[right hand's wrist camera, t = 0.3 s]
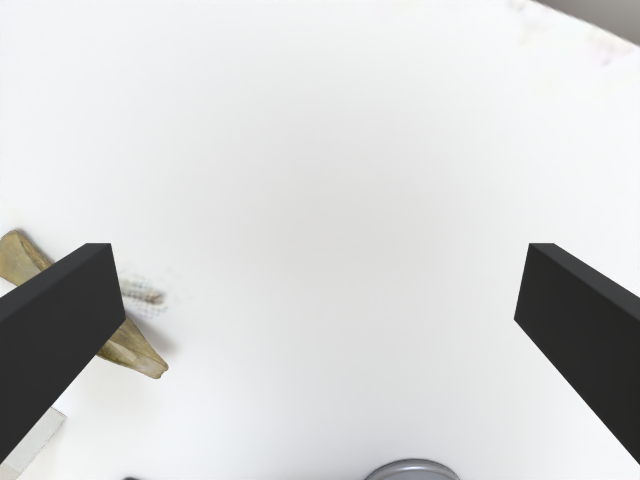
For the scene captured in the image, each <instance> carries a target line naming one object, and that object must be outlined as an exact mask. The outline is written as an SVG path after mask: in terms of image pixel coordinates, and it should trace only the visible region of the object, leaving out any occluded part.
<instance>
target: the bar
mask: <svg viewBox="0 0 640 480" xmlns="http://www.w3.org/2000/svg"><path fill="white" fill-rule="evenodd" d="M65 418H66V416H64V415H63V414H61V413H59V412H58V411H56V410H55V409H53V408H52V407H50V408H49V409H48V410H47V411H46V413H45V414H44V415H43V416H42V417H41V418H40V420H39V421H38V422H37V423H36V424H35V425H34V427H33V428H32V429H31V430H30V431H29V432H28V433H27V435H26V436H25V437H24V438H23V439H22V440H21V442H20V443H19V444H18V445H17V446H16V447H15V448H14V450H13V451H12V452H11V453H10V454H9V455H8V457H7V458H6V459H5V460H4V461H3V462H2V464H1V465H0V480H15V479H17V478H18V477H19V476H20V475H21V474H22V473H23V472H24V470H25V469H26V468H27V466H28V465H29V464H30V463H31V461H32V460H33V459H34V458H35V456H36V455H37V454H38V452H39V451H40V450H41V449H42V447H43V446H44V445H45V444H46V442H47V441H48V440H49V438H50V437H51V436H52V435H53V433H54V432H55V431H56V430H57V428H58V427H59V426H60V424H61V423H62V422H63V421H64V419H65Z"/></svg>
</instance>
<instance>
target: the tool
mask: <svg viewBox="0 0 640 480" xmlns="http://www.w3.org/2000/svg"><path fill="white" fill-rule="evenodd" d="M50 266H51V264H50V263H49V262H48V261H47V260H46V259H45V258H44V257H43V256H41V255H40V254H39V253H38V252H37V251H36V250H35V249H34V248H33V246H32V245H31V244H30V243H28V242H27V240H26V239H25V238H24V237H23V236H21V235H20V234H19V233H18V232H17V231H10V232H9V233H7V234H6V235H4V236H3V237H2V239H1V240H0V277H2V278H4V279H6V280H8V281H9V282H11V283H13V284H14V285H16V286H20V285H21V284H23V283H24V282H26V281H28V280H29V279H31V278H32V277H34V276H36V275H37V274H39V273H40V272H42V271H43V270H45V269H47V268H48V267H50ZM125 316H126V315H125ZM96 355H97V356H98V357H100V358H102V359H105V360H108V361H110V362H113V363H115V364H118V365H122V366H124V367H128V368H131V369H134V370H136V371H138V372H141V373H143V374H145V375H147V376H149V377H151V378H154V379H159V378H160V377H161V375H162V374H163V373H164V371H167V370H168V365H167V363H166V362H165V361H164V360H163V359H162V358H161V357H160V356H159V355H158V354H157V353H156V352H155V351H154V350H153V349H152V347H151V346H150V345H149V344H148V342H147V341H146V340H145V338H144V336H143V335H142V334H141V332H140V331H139V330H138V328H137V327H136V326H135V324H134V323H133V322H132V321H131V320H130V319H129V318H128V317H127V316H126V320H125V321H124V322H123V324H122V325H121V326H120V327H119V328H118V329H117V331H116V332H115V333H114V334H113V335H112V336H111V337H110V339H109V340H108V341H107V342H106V343H105V344H104V346H103V347H102V348H101V349H100V350H99V351H98V352H97V354H96Z"/></svg>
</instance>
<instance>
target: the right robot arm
mask: <svg viewBox="0 0 640 480" xmlns="http://www.w3.org/2000/svg"><path fill="white" fill-rule="evenodd" d="M125 320H126V316H125V311H124V306H123V301H122V296H121V291H120V286H119V281H118V276H117V272H116V267H115V262H114V257H113V252H112V247H111V243H86V244H84V245H83V246H81V247H80V248H78V249H77V250H75V251H73V252H72V253H70V254H69V255H67V256H66V257H64V258H62V259H61V260H59V261H58V262H56V263H54V264H53V265H51V266H50V267H48V268H47V269H45V270H43V271H42V272H40V273H39V274H37V275H36V276H34V277H32V278H31V279H29V280H28V281H26V282H24V283H23V284H21V285H20V286H18V287H17V288H15V289H13V290H12V291H10V292H9V293H7V294H6V295H4V296H2V297H1V298H0V465H1V464H2V462H3V461H4V460H5V459H6V458H7V457H8V455H9V454H10V453H11V452H12V451H13V450H14V448H15V447H16V446H17V445H18V444H19V443H20V442H21V440H22V439H23V438H24V437H25V436H26V435H27V433H28V432H29V431H30V430H31V429H32V428H33V427H34V425H35V424H36V423H37V422H38V421H39V420H40V418H41V417H42V416H43V415H44V414H45V413H46V411H47V410H48V409H49V408H50V407H51V406H52V405H53V403H54V402H55V401H56V400H57V399H58V398H59V396H60V395H61V394H62V393H63V392H64V391H65V390H66V388H67V387H68V386H69V385H70V384H71V383H72V381H73V380H74V379H75V378H76V377H77V376H78V374H79V373H80V372H81V371H82V370H83V369H84V368H85V366H86V365H87V364H88V363H89V362H90V361H91V359H92V358H93V357H94V356H95V355H96V354H97V352H98V351H99V350H100V349H101V348H102V347H103V346H104V344H105V343H106V342H107V341H108V340H109V339H110V337H111V336H112V335H113V334H114V333H115V332H116V331H117V329H118V328H119V327H120V326H121V325H122V324H123V322H124V321H125ZM514 320H515V321H516V322H517V324H518V325H519V326H520V327H521V328H522V329H523V331H524V332H525V333H526V334H527V335H528V336H529V337H530V339H531V340H532V341H533V342H534V343H535V344H536V346H537V347H538V348H539V349H540V350H541V351H542V352H543V354H544V355H545V356H546V357H547V358H548V359H549V361H550V362H551V363H552V364H553V365H554V366H555V368H556V369H557V370H558V371H559V372H560V373H561V374H562V376H563V377H564V378H565V379H566V380H567V381H568V383H569V384H570V385H571V386H572V387H573V388H574V390H575V391H576V392H577V393H578V394H579V395H580V396H581V398H582V399H583V400H584V401H585V402H586V403H587V405H588V406H589V407H590V408H591V409H592V410H593V411H594V413H595V414H596V415H597V416H598V417H599V418H600V420H601V421H602V422H603V423H604V424H605V425H606V427H607V428H608V429H609V430H610V431H611V432H612V433H613V435H614V436H615V437H616V438H617V439H618V440H619V442H620V443H621V444H622V445H623V446H624V447H625V448H626V450H627V451H628V452H629V453H630V454H631V455H632V457H633V458H634V459H635V460H636V461H637V462H638V464H639V465H640V298H639V297H638V296H636V295H634V294H633V293H631V292H630V291H628V290H627V289H625V288H623V287H622V286H620V285H619V284H617V283H616V282H614V281H612V280H611V279H609V278H608V277H606V276H604V275H603V274H601V273H600V272H598V271H597V270H595V269H593V268H592V267H590V266H589V265H587V264H586V263H584V262H582V261H581V260H579V259H578V258H576V257H574V256H573V255H571V254H570V253H568V252H567V251H565V250H563V249H562V248H560V247H559V246H557V245H556V244H554V243H529V247H528V252H527V257H526V262H525V267H524V272H523V276H522V281H521V286H520V291H519V296H518V301H517V306H516V311H515V316H514ZM366 480H459V478H458V477H457V476H456V475H455V474H454V473H453V472H452V471H451V470H449V469H448V468H446V467H444V466H442V465H440V464H437V463H434V462H430V461H424V460H405V461H399V462H395V463H392V464H389V465H386V466H384V467H382V468H380V469H378V470H376V471H375V472H374V473H372V474H371V475H370V476H369V477H368V478H367V479H366Z"/></svg>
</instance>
